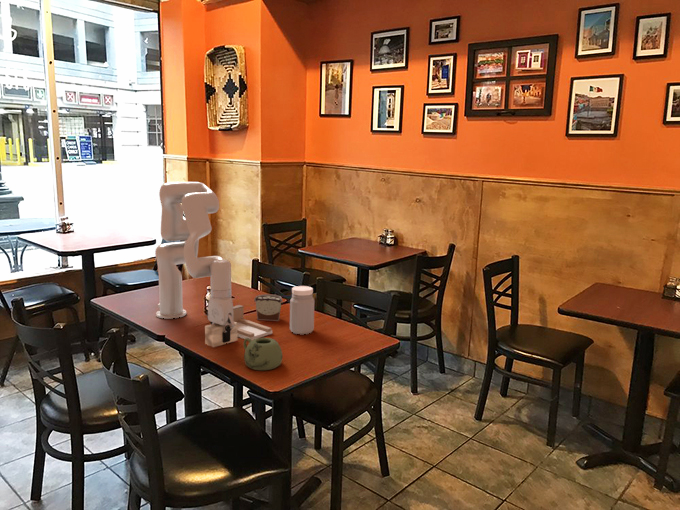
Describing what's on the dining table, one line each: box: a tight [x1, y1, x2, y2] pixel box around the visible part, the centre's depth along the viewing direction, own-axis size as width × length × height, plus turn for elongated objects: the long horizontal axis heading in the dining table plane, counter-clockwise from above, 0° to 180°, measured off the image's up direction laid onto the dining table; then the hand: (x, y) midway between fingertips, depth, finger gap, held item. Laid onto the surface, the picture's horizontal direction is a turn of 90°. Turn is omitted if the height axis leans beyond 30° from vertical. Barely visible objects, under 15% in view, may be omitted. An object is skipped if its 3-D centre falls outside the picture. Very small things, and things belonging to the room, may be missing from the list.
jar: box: [289, 285, 315, 336], centre depth 215 cm, size 10×10×18 cm
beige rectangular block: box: [204, 322, 238, 348], centre depth 202 cm, size 5×11×7 cm, turn 139°
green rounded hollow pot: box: [242, 337, 283, 371], centre depth 182 cm, size 16×13×9 cm
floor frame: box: [233, 304, 273, 340], centre depth 215 cm, size 20×12×8 cm, turn 50°
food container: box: [253, 293, 284, 322], centre depth 232 cm, size 12×6×10 cm, turn 84°
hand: (221, 339), depth 202 cm, fingers closed on beige rectangular block, 5 cm apart
